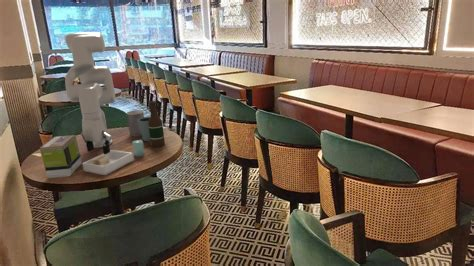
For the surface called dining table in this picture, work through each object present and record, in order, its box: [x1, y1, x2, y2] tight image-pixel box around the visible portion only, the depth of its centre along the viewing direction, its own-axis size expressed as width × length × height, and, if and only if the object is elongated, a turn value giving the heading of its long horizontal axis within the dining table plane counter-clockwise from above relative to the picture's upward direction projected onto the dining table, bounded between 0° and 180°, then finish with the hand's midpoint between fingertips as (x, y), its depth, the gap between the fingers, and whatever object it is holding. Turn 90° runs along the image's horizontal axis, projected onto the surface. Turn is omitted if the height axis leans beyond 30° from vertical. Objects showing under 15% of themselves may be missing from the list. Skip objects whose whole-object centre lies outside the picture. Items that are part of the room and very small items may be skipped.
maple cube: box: [91, 155, 110, 166], centre depth 149 cm, size 5×5×5 cm
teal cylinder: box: [131, 139, 146, 158], centre depth 165 cm, size 5×5×7 cm
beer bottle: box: [148, 100, 165, 148], centre depth 175 cm, size 8×8×24 cm
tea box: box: [39, 134, 83, 179], centre depth 149 cm, size 15×10×15 cm, turn 5°
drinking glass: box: [138, 116, 150, 142], centre depth 188 cm, size 10×10×12 cm
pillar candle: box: [126, 109, 145, 137], centre depth 198 cm, size 10×10×15 cm
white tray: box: [81, 149, 135, 176], centre depth 153 cm, size 14×18×4 cm
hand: (98, 151), depth 148 cm, fingers open, 9 cm apart
